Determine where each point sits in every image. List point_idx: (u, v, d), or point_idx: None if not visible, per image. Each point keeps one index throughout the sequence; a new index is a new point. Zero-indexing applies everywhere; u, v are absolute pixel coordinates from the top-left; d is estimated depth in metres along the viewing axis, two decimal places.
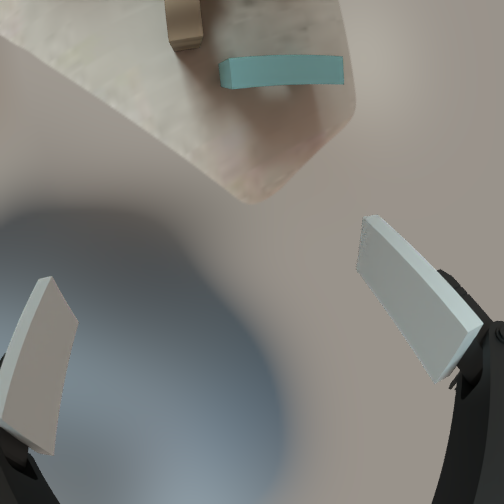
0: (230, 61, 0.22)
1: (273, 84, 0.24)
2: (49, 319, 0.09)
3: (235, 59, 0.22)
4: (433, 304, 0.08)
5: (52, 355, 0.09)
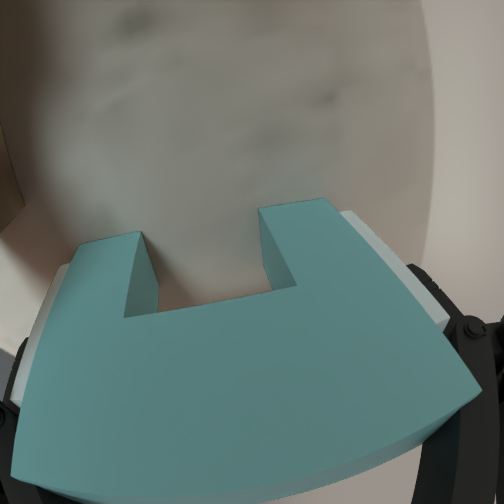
0: None
1: None
2: None
3: (29, 482, 0.03)
4: None
5: None
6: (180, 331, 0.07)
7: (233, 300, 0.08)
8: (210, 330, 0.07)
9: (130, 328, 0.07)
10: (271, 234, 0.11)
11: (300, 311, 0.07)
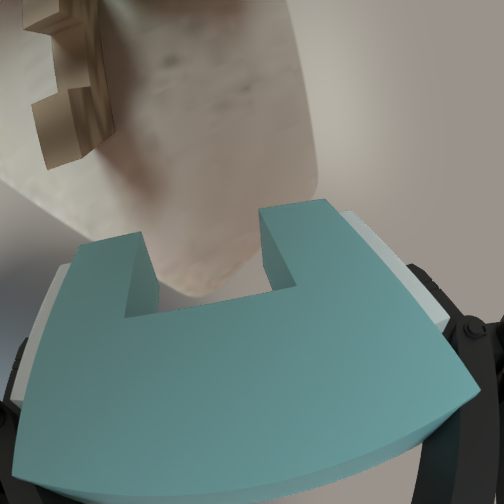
0: None
1: None
2: None
3: (31, 481, 0.03)
4: None
5: None
6: (180, 331, 0.07)
7: (233, 300, 0.08)
8: (210, 331, 0.07)
9: (131, 328, 0.07)
10: (271, 234, 0.11)
11: (300, 311, 0.07)
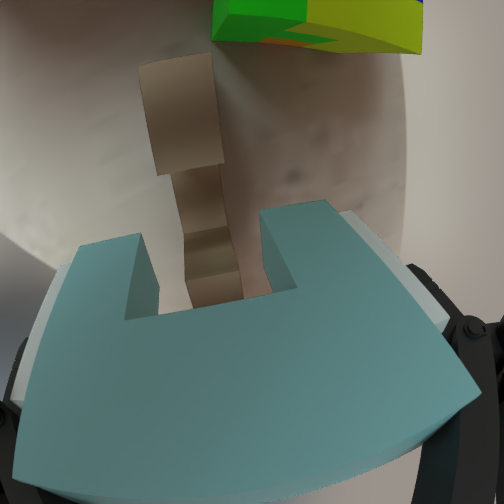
0: None
1: None
2: None
3: (31, 484, 0.03)
4: None
5: None
6: (181, 334, 0.07)
7: (233, 302, 0.08)
8: (211, 333, 0.07)
9: (131, 330, 0.07)
10: (272, 236, 0.11)
11: (300, 314, 0.07)
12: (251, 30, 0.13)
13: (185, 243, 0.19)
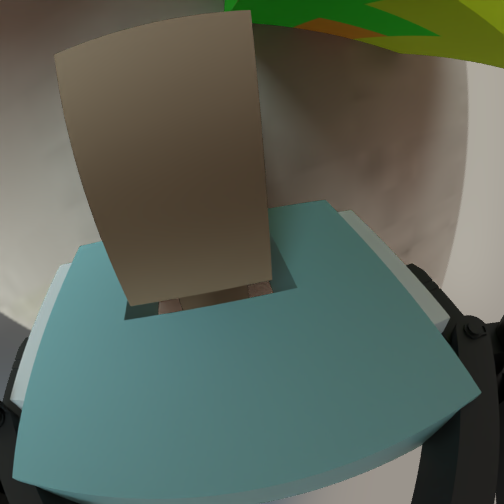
0: None
1: None
2: None
3: (31, 484, 0.03)
4: None
5: None
6: (181, 333, 0.07)
7: (233, 302, 0.08)
8: (211, 333, 0.07)
9: (131, 330, 0.07)
10: (271, 236, 0.11)
11: (300, 313, 0.07)
12: None
13: None
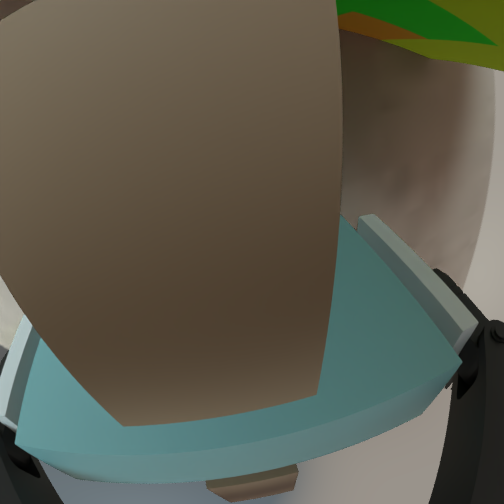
0: (24, 449, 0.04)
1: (186, 481, 0.06)
2: None
3: (33, 449, 0.04)
4: (428, 303, 0.08)
5: None
6: None
7: None
8: None
9: None
10: None
11: None
12: None
13: None
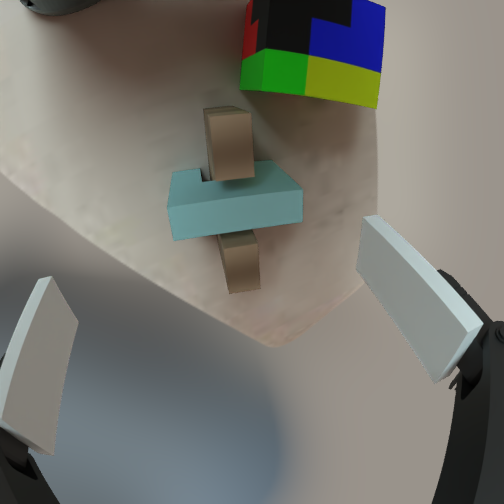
0: (168, 211, 0.22)
1: (218, 232, 0.24)
2: (49, 319, 0.09)
3: (174, 208, 0.22)
4: (433, 304, 0.08)
5: (52, 355, 0.09)
6: (220, 182, 0.26)
7: None
8: (229, 181, 0.26)
9: (205, 183, 0.26)
10: None
11: (254, 178, 0.27)
12: None
13: None
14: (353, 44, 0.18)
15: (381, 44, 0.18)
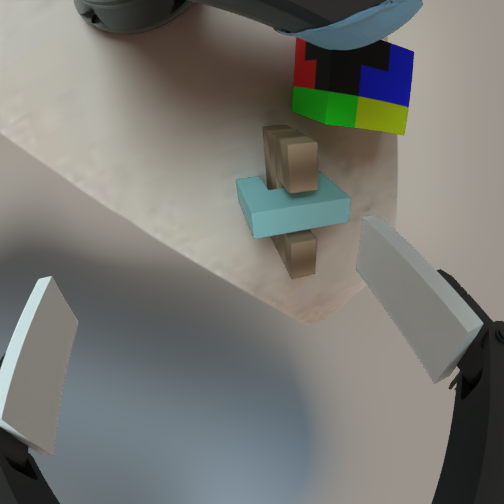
0: (252, 216, 0.29)
1: (288, 231, 0.31)
2: (49, 319, 0.09)
3: (256, 214, 0.29)
4: (433, 304, 0.08)
5: (52, 355, 0.09)
6: (284, 190, 0.33)
7: None
8: None
9: (271, 191, 0.33)
10: None
11: None
12: None
13: None
14: (389, 85, 0.24)
15: (409, 83, 0.24)
